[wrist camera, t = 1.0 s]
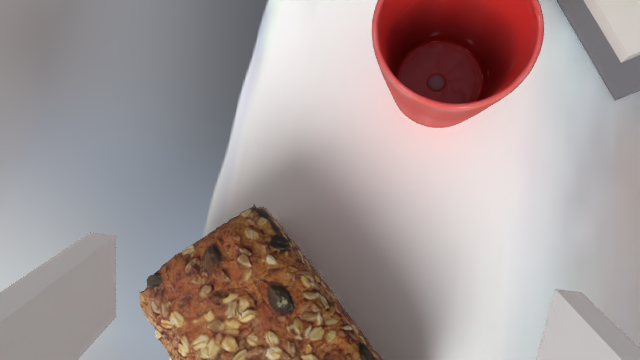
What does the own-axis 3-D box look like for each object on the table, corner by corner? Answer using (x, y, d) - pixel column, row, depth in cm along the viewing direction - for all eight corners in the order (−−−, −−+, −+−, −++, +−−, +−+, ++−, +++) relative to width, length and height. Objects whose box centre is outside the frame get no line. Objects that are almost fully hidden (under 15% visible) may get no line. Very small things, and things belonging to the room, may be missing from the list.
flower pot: (365, 141, 38) (361, 100, 28) (381, 21, 40) (381, -56, 30) (497, 154, 36) (539, 116, 27) (507, 28, 38) (549, -49, 28)
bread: (180, 285, 38) (112, 293, 28) (282, 208, 38) (248, 189, 28) (311, 491, 34) (284, 584, 24) (424, 404, 34) (443, 462, 24)
